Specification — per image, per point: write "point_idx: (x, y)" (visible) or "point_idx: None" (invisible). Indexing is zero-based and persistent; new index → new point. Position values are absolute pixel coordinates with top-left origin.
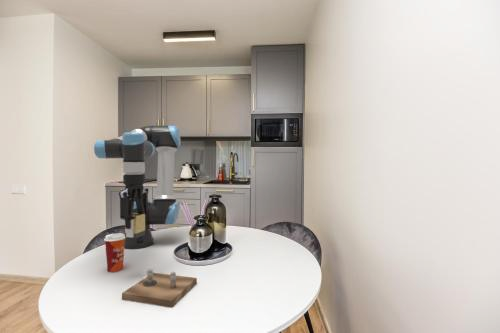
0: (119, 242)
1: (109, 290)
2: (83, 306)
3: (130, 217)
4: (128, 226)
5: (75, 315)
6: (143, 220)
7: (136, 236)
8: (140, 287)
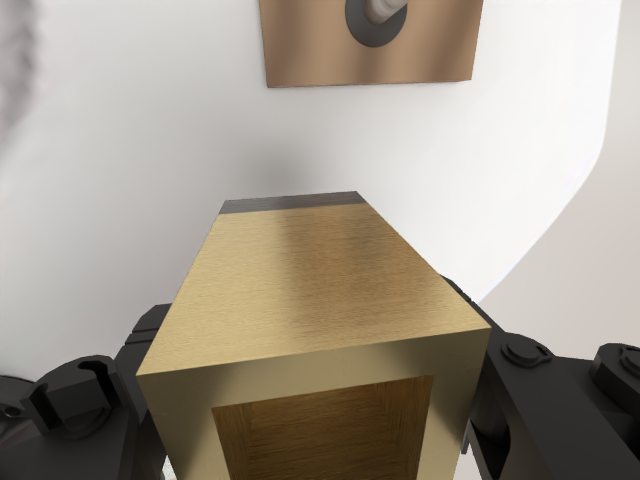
0: None
1: (405, 183)
2: (503, 174)
3: (539, 368)
4: (460, 289)
5: (548, 152)
6: (232, 272)
7: (357, 195)
8: (418, 31)
